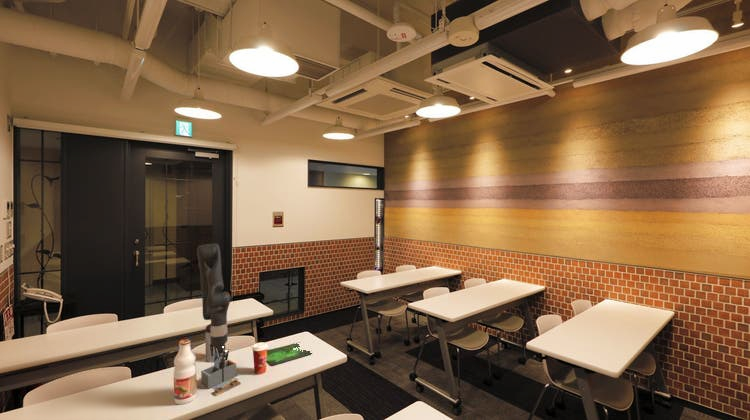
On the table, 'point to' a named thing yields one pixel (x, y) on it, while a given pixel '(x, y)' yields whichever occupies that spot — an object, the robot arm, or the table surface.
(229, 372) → the tube
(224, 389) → the walnut seat rail
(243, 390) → the table surface
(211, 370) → the tube
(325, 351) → the table surface
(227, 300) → the robot arm
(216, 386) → the card
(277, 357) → the mouse mat
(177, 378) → the fruit juice
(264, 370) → the coffee cup
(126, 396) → the table surface
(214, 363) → the blue ball
